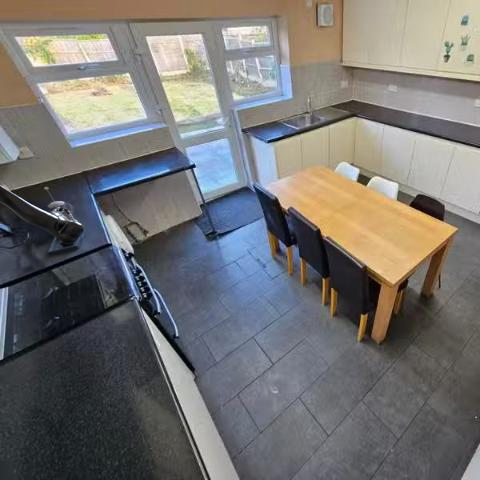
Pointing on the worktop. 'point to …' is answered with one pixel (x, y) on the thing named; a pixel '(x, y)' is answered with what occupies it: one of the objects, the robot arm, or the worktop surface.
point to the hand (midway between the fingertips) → (45, 211)
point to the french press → (60, 203)
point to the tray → (56, 244)
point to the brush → (65, 244)
